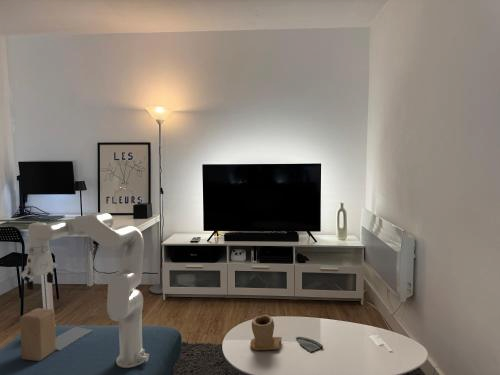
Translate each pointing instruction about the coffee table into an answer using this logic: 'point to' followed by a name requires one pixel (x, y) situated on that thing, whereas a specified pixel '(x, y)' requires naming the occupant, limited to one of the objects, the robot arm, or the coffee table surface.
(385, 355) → the coffee table surface
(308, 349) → the curved wedge
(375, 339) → the white plastic blade
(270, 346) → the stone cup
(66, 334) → the rubber mat
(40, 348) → the block
